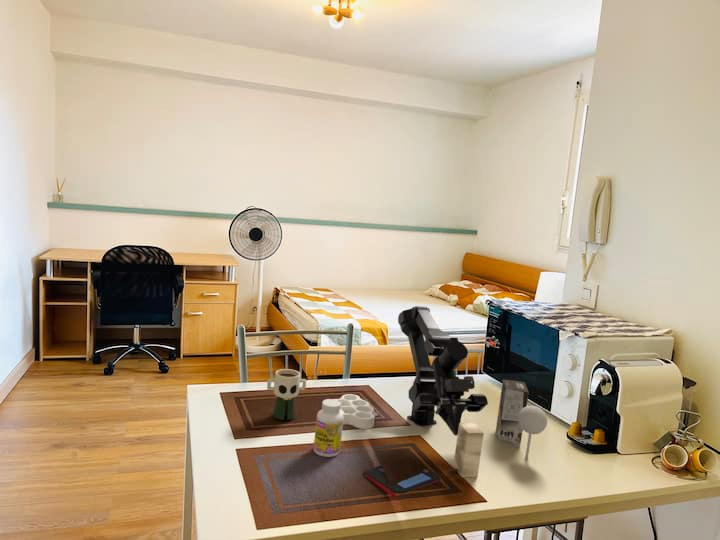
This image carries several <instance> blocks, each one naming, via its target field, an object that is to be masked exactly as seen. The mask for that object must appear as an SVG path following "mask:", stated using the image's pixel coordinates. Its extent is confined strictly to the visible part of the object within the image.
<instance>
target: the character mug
mask: <svg viewBox="0 0 720 540" xmlns="http://www.w3.org/2000/svg"><path fill="white" fill-rule="evenodd" d="M274 372H275V373H274V378H269V379H268V380H267V383H266V386H267V387H266V389H267V390H268V391H273V394H274V395H275V397H276V399H275V403H274V408H273V412H272V415H273V416H274V418H275V419H277V420H281V421H282V420H283V421H284V420H285V418H287V420H292V419H294V418H295V417H296V401H295V400H296V399H295V398H296V397H297V396H298V395H299V393H300V392H299V391H305V390H306V387H307V379H306V378H301V372H299V371H297V370H295V369H290V368H282V369H278V370H276V371H274ZM272 383H273V386H272ZM300 383H302V386H300V385H301V384H300Z"/></svg>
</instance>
